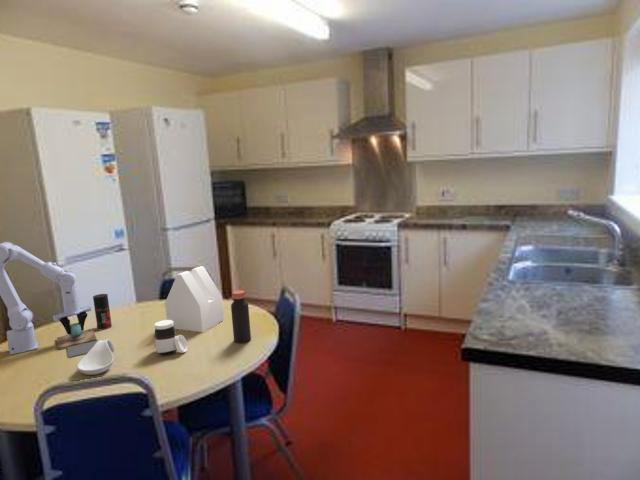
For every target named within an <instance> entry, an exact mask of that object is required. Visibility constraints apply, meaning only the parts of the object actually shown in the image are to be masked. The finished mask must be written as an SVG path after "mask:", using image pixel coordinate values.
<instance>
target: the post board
mask: <svg viewBox="0 0 640 480" xmlns="http://www.w3.org/2000/svg"><path fill="white" fill-rule="evenodd" d="M97 340H98V339H97V337H96V334H95V332H94V329H91V330H85V331H82V333H81V334H79V335H76V336H70V335H69V334H66V335H63V336H58V337H56V342H57V343H56V344H57V349H58V351H60V350H65V349H66V350H67V347H70V346H75V345H79V344H84V343H88V342H92V341H97Z"/></svg>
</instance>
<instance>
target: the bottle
mask: <svg viewBox="0 0 640 480" xmlns="http://www.w3.org/2000/svg"><path fill="white" fill-rule="evenodd" d="M231 295H232V300H233V302H232V303H231V304H230V311H231V320H232V321H231V322H232V333H233V335H232V336H233V341H234V342H235V343H236V344H244V343H248V342H250V341H251V339H252V335H251V322H250V312H249V303H248V301H246V300H245V299H246V291H245V290H240V289H239V290H234V291H232V294H231Z"/></svg>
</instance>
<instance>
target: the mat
mask: <svg viewBox="0 0 640 480" xmlns="http://www.w3.org/2000/svg"><path fill="white" fill-rule="evenodd" d="M99 340H100V339H97V341H92V342H88V343H84V344H79V345H75V346H70V347H67V348H66V351H67V356H68V358H69V359H70V358H75V357H78V356H79V357H80V356H83V355H84V356H85V355H86V354H87V353H88V352H89V351H90V350H91V349H92V348H93V346H94V345H95V344H96V343H97V342H98V341H99Z"/></svg>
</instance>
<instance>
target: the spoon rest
mask: <svg viewBox="0 0 640 480" xmlns="http://www.w3.org/2000/svg"><path fill="white" fill-rule="evenodd" d="M98 340H99V341H98V342H97V343H96V344H95V345H94V346H93V348H92V349H91V350H90V351H89V352H88V353H87V354H84V356H83V357H82V358H81V359H80V360H79V361H78V363H77V364H76V368H77V370H78V371H79V372H80V373H82V374H84V375H87V376H92V375H93V376H94V375H99V374H102V373H104V372H106V371H108V370H109V369H110V368H111V366H112V365H113V363H114V361H115V357H114V354H113V352H114V351H115V348H114V344H113V343H112V342H111V340H110V339H109V338H108V339H107V338H106V339H104V340H102V339H101V340H100V339H98Z"/></svg>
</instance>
